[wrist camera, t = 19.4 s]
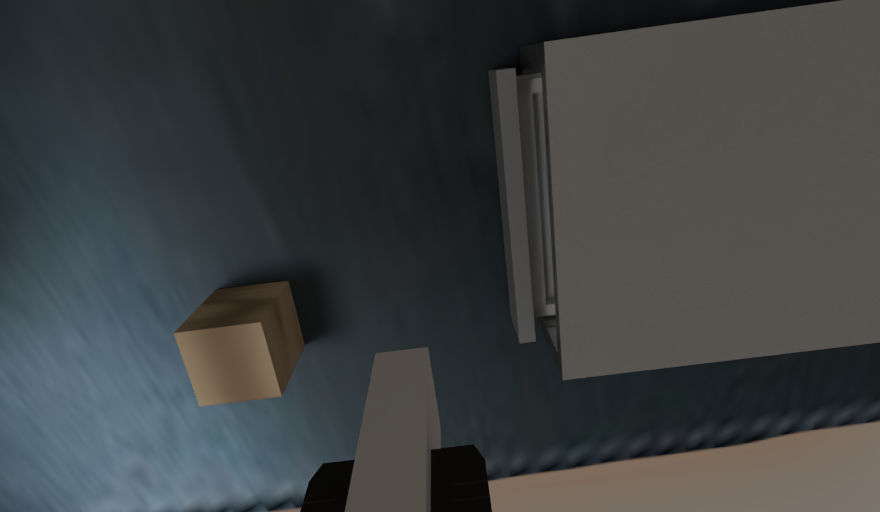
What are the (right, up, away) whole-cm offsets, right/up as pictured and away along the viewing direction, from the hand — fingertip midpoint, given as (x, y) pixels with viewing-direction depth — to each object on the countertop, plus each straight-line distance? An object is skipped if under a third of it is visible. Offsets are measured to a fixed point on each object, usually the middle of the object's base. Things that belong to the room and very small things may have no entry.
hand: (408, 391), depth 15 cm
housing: (+18, +9, +18) cm, 26 cm away
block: (-11, 0, +21) cm, 24 cm away
